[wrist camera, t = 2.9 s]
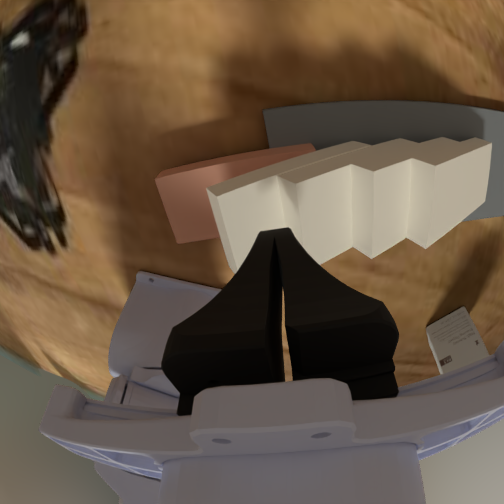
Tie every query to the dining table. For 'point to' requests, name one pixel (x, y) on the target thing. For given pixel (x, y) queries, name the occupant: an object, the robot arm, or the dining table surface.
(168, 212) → the end domino
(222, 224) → the domino
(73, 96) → the dining table surface
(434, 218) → the domino
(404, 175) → the domino
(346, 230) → the domino
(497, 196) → the domino board
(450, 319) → the skincare box
